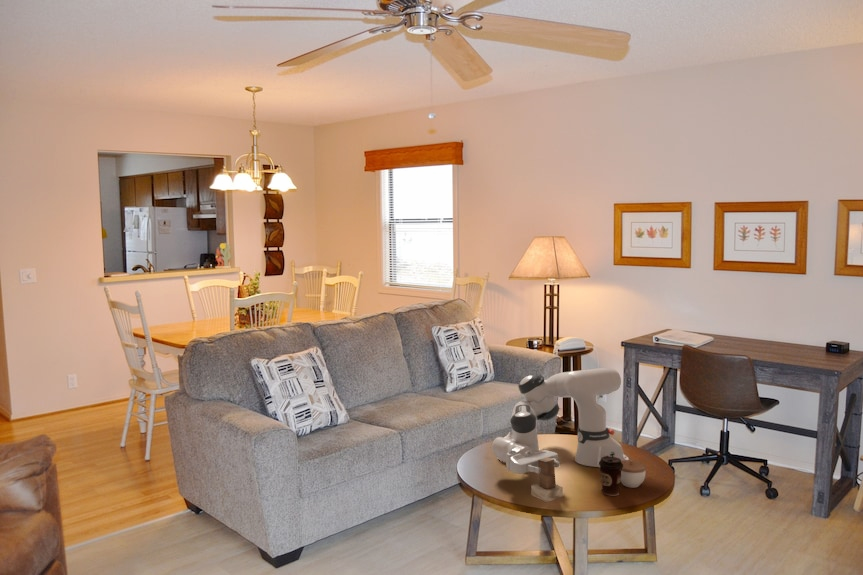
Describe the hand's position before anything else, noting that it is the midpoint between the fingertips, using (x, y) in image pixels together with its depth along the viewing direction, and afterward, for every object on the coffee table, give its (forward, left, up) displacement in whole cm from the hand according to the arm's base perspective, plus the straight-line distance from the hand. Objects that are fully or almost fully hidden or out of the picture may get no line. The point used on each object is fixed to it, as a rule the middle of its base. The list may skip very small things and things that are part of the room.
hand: (548, 467), depth 249 cm
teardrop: (-4, -41, -11) cm, 43 cm away
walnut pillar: (0, 0, -7) cm, 7 cm away
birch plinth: (0, -1, -11) cm, 11 cm away
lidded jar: (-35, +1, -11) cm, 37 cm away
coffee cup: (-23, +5, -11) cm, 26 cm away
